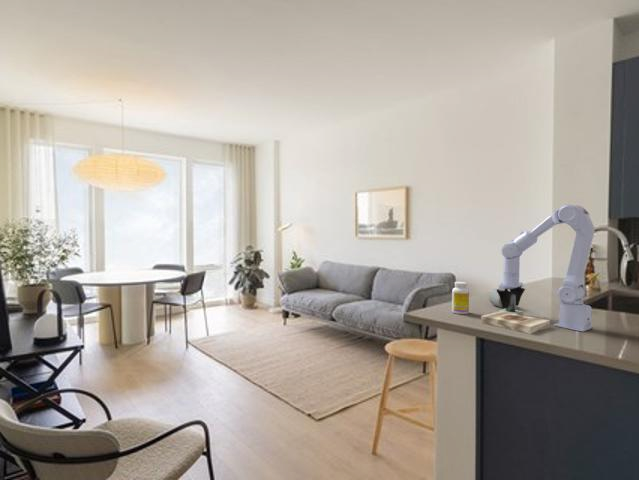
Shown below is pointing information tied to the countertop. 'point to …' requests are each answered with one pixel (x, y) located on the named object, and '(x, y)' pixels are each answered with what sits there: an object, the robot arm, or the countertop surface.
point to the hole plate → (515, 322)
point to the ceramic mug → (495, 298)
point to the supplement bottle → (460, 298)
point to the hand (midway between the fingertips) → (510, 306)
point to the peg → (512, 303)
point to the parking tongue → (513, 312)
